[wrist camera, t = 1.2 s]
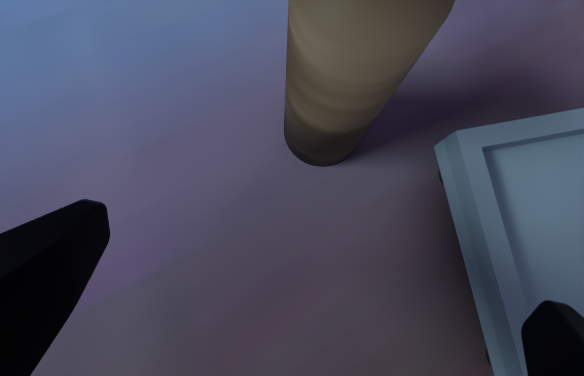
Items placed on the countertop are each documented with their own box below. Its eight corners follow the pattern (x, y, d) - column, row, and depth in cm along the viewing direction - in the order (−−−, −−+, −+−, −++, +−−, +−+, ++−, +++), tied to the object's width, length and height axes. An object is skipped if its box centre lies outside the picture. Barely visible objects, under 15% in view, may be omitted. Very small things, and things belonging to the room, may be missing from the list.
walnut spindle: (366, 159, 22) (477, 37, 10) (291, 172, 22) (308, 64, 9) (350, 88, 23) (434, -108, 10) (277, 101, 22) (275, -87, 10)
